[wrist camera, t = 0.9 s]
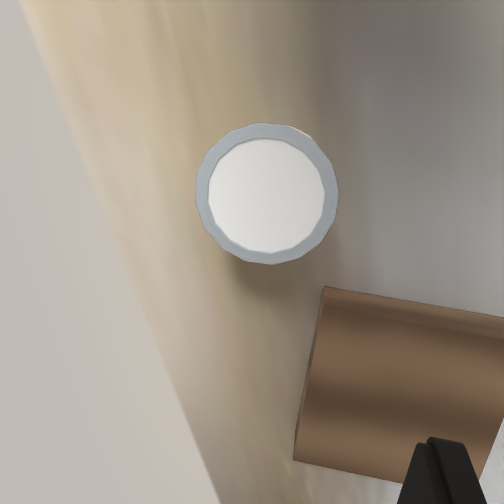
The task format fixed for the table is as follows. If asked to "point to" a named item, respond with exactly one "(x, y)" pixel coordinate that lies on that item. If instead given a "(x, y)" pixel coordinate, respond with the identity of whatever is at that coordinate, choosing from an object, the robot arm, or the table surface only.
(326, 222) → the white cup
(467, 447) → the walnut plinth
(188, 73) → the table surface
